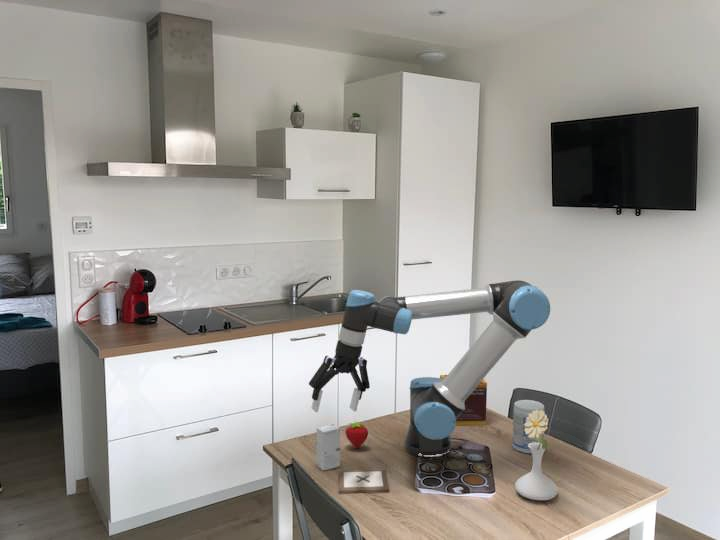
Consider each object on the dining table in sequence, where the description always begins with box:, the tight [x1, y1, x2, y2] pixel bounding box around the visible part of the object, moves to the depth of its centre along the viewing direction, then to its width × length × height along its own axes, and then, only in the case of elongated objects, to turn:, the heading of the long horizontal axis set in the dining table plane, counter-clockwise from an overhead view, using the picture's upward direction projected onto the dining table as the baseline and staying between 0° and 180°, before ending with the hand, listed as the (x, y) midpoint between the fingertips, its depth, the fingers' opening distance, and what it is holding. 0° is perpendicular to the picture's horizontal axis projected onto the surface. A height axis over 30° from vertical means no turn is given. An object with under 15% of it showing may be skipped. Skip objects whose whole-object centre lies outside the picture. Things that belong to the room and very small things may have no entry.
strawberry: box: [345, 421, 369, 449], centre depth 194 cm, size 6×8×10 cm
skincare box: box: [316, 423, 341, 471], centre depth 182 cm, size 6×4×12 cm
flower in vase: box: [514, 410, 559, 501], centre depth 162 cm, size 13×11×25 cm
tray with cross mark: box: [338, 469, 390, 494], centre depth 172 cm, size 14×12×1 cm
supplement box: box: [439, 374, 488, 426], centre depth 217 cm, size 10×15×16 cm
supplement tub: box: [511, 399, 545, 454], centre depth 193 cm, size 10×10×15 cm
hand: (334, 409), depth 179 cm, fingers open, 13 cm apart
